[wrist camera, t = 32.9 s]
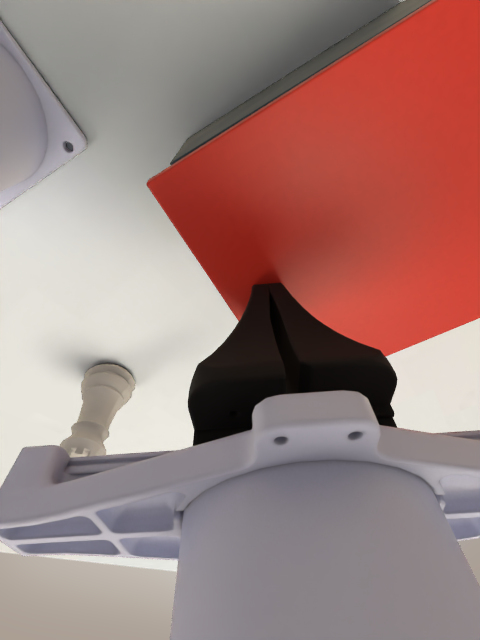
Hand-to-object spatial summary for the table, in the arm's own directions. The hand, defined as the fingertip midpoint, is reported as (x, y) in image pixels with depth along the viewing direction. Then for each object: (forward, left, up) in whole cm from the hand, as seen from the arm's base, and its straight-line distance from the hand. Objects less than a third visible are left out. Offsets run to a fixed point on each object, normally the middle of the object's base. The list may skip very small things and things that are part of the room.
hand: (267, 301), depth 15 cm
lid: (+4, 0, -1) cm, 5 cm away
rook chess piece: (-18, -6, -8) cm, 20 cm away
